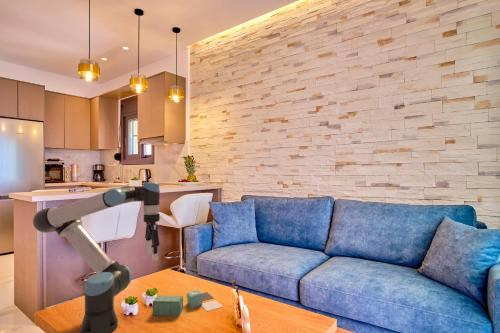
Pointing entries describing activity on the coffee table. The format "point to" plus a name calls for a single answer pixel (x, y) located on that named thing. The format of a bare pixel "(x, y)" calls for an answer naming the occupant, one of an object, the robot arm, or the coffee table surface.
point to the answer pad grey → (211, 305)
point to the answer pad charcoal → (206, 296)
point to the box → (167, 305)
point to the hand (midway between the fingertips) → (151, 256)
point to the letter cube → (194, 298)
